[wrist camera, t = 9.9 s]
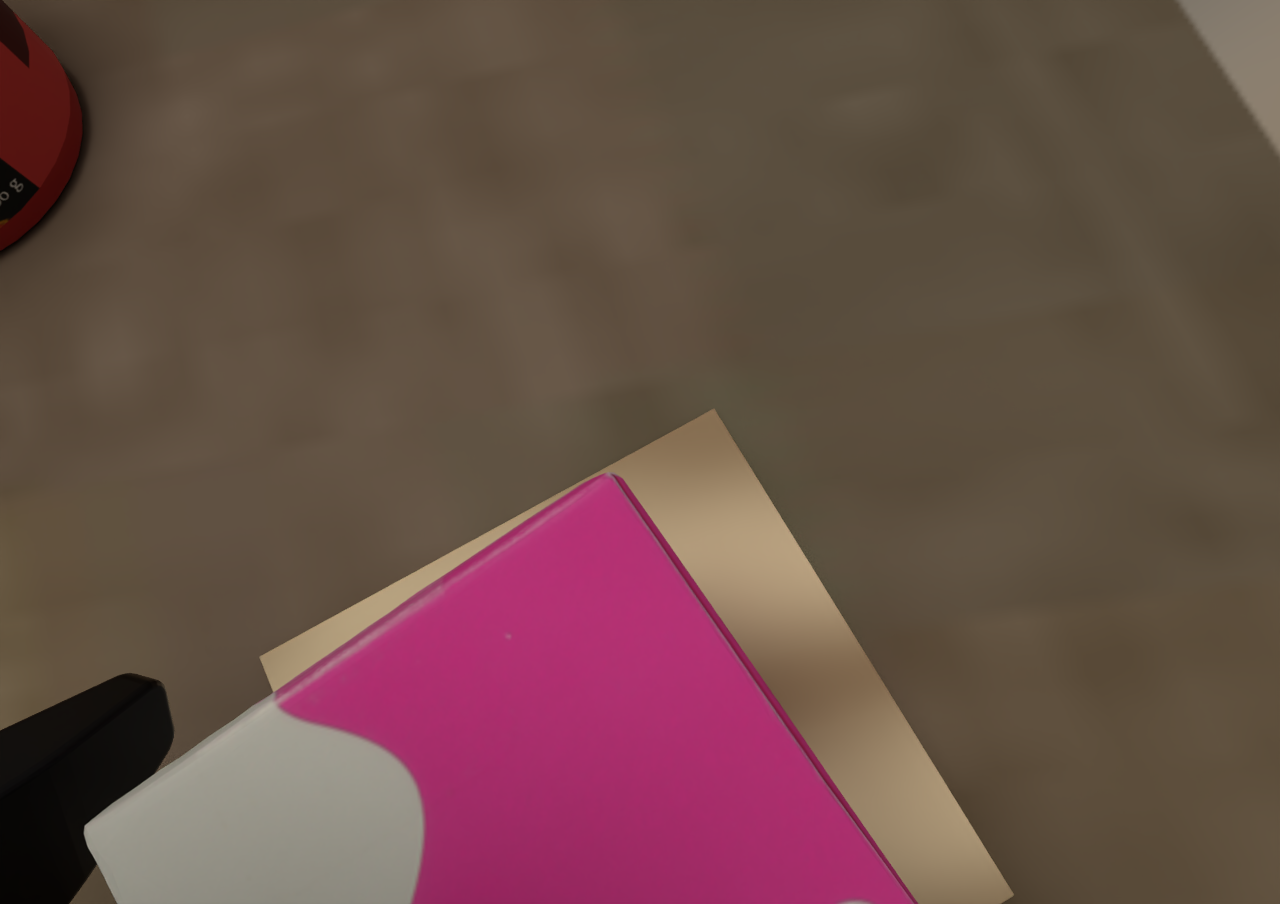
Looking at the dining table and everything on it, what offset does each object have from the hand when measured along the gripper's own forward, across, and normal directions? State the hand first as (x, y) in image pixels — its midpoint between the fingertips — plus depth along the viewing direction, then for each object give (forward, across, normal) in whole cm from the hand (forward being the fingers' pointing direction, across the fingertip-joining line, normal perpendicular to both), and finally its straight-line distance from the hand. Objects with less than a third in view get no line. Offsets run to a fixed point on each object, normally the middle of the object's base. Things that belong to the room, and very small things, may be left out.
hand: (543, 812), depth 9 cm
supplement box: (+6, 0, +7) cm, 10 cm away
